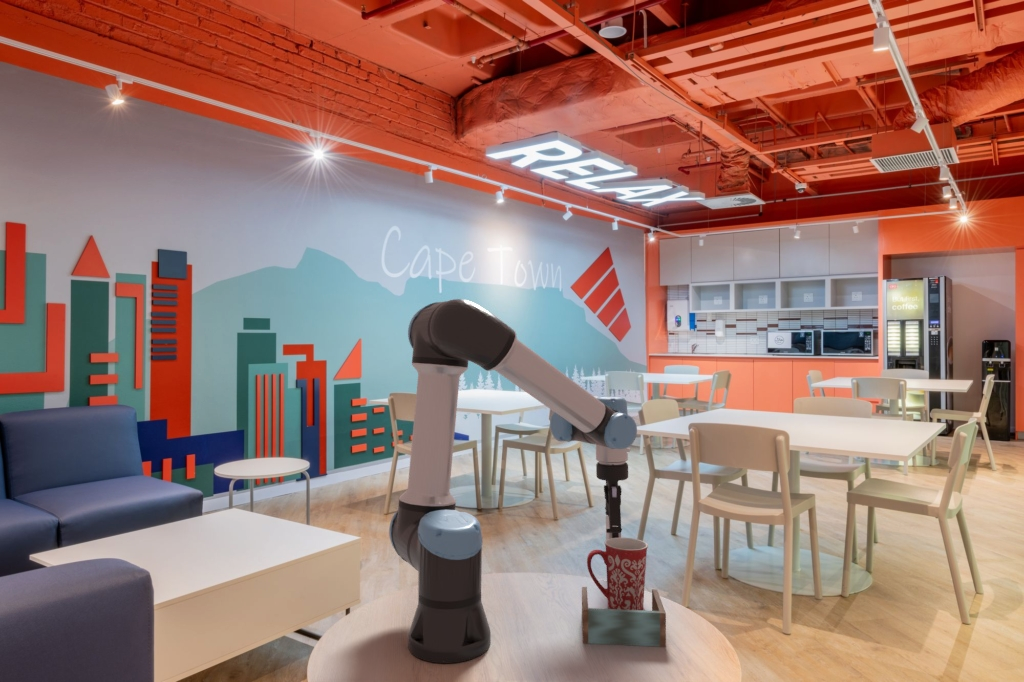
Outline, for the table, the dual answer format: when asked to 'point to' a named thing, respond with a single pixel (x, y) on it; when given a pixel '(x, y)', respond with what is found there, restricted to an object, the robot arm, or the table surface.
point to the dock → (624, 624)
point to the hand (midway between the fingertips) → (613, 551)
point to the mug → (623, 572)
